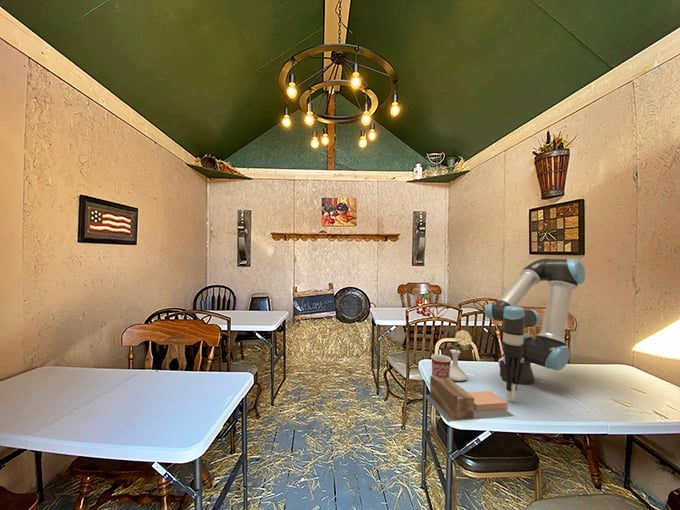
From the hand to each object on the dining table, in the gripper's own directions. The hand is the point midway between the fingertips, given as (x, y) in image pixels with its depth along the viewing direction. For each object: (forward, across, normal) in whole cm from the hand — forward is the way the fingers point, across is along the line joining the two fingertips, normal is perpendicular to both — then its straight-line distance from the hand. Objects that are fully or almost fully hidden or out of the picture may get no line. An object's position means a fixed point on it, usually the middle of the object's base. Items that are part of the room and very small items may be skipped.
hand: (511, 398), depth 123 cm
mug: (+2, +22, -20) cm, 30 cm away
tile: (+2, +13, 0) cm, 13 cm away
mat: (+2, +21, 0) cm, 21 cm away
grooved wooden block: (+2, +28, 0) cm, 28 cm away
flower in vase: (+2, +10, -25) cm, 27 cm away
